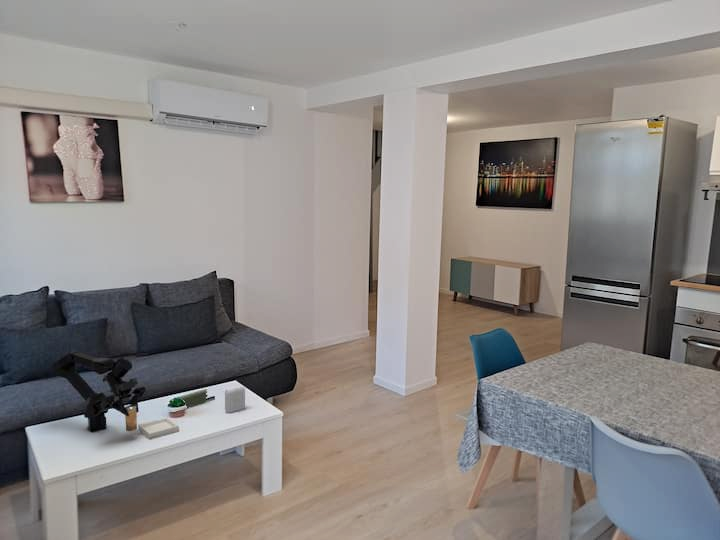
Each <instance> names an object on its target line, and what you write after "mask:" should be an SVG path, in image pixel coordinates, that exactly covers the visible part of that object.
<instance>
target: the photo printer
mask: <svg viewBox="0 0 720 540" xmlns="http://www.w3.org/2000/svg"><path fill="white" fill-rule="evenodd" d="M244 409H246V388H245V386H244V385H240V384H238V385H237V384H236V385H232V386H229V387H228V388H226V389H225V391H224V410H225V411H224V412H225V413H227V414H230V413H233V412H238V411H241V410H244Z"/></svg>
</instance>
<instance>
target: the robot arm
mask: <svg viewBox="0 0 720 540" xmlns="http://www.w3.org/2000/svg"><path fill="white" fill-rule="evenodd" d="M76 364H78V365H80V366H83V367H87V368H90V369H91V370H92V371H93V372H94V373H96V374H98V375H100V376H102V375H103V378H102V382H103V383H105V382H106V383H107V384H108V386H109V388H110V393H111V394H113V395H109V396H106V395H105V394H104V393H103V392H100V393H96V392H95V390H94V389H93V388H92V387H91V386H90V385H89V384H88V383H87V382H86V380H84V378H83V377H82V376H81V375H80V373H78V372H77V365H76ZM132 368H133V364H132V362H131V361H129V360H127V359H124V358H123V357H120V358H118V359H117V360H116V361H115V360H113V359H112V358H110V357H109V358H107V357H100V358H99V357H94V356H92V355H88V354H85V353H82V352H80V351H77V350H76V351H71V352H68V353H67V354H66V355H65V356H63V357H62V358H59V359H58V360H56V361H54V362H53V363H52V366H51V369H52V371H53V372H54V374H56V375H57V377H60V378H64V379H66V380H67V381H68V382H69V384H70V385H72V387H73V388H74V390H76V392H77V393H78V394H79V395H80V396H81V397H82V398H83V400H85V407H86V410H85V411H84V412H83V416H84V418H85V419H87V425H88V426H87V430H88V431H89V432H91V433H94V432H99V431H102V430H106V429H107V417H106V414H107V413H108V412H109V409H111V410H112V409H114V410H116V411H117V412H119V413H121V414H122V415H124V416H125V415H126V416H128V415H129V414H128V412H127V410H126V408H125V407H126V406H125V405H124V403H123V400H126V399H129V401H128V403H129V405H136V412H137V413H139V402H138V401H139V400H138V399H140V398H142V397H143V396H144V395H145V394H146V392H147V389H146V387H145V386H144V385H142V386H138V387H136V386H137V385H138V384H139V383H138V382H139V381H138V380H137V378H136V377H133V378H130V379H129V381H126V380H124V379H123V378H124V377H126V375H127V374H128V373H129V372H130V370H132ZM104 374H106V375H104ZM133 388H135V389H134V390H133ZM132 390H133V391H132ZM131 391H132V392H131Z"/></svg>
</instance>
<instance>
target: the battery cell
mask: <svg viewBox="0 0 720 540" xmlns="http://www.w3.org/2000/svg"><path fill="white" fill-rule="evenodd" d="M125 408H126V410H127V412H128V414H129V415H128V416H126V415H124V416H125V417H124V418H125V431H126V432H134V431H136V430H138V418H137V412H136V405H131V404H128V405H126V406H125Z"/></svg>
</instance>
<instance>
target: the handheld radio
mask: <svg viewBox="0 0 720 540" xmlns="http://www.w3.org/2000/svg"><path fill="white" fill-rule="evenodd" d="M207 393H208V389H206V388H205V389H202V390H198V391H195V392H191V393H188V394H185V395H182V396H178V398H180V399H182V400H184V401H185V403H186V406H187V409H190V408H193V406H194V407H197V406H199V404H200V405H203V404H206V403H207V402H206V401H211V400H214V399H215V398H216V396H215V395H213V396H209V397H208V394H207ZM173 399H174V398H172V399H170V400H169V403H170V402H171V401H172V400H173ZM196 405H197V406H196ZM189 407H190V408H189Z"/></svg>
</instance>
